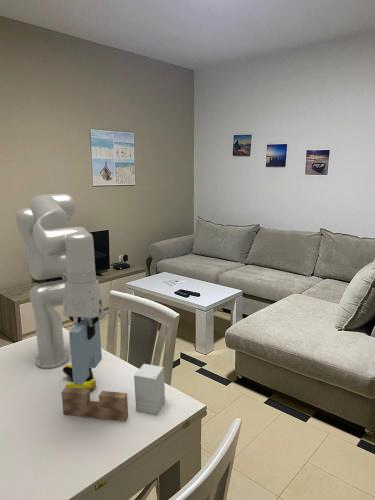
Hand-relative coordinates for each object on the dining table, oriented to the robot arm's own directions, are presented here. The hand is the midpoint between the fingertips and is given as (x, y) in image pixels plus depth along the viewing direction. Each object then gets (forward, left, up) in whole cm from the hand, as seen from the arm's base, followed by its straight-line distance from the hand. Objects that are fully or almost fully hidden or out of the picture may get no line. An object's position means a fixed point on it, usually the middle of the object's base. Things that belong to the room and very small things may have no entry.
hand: (86, 336), depth 110 cm
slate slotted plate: (0, 0, -11) cm, 11 cm away
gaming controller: (-19, +3, -27) cm, 33 cm away
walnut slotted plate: (0, +1, -27) cm, 27 cm away
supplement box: (+6, +17, -27) cm, 33 cm away
